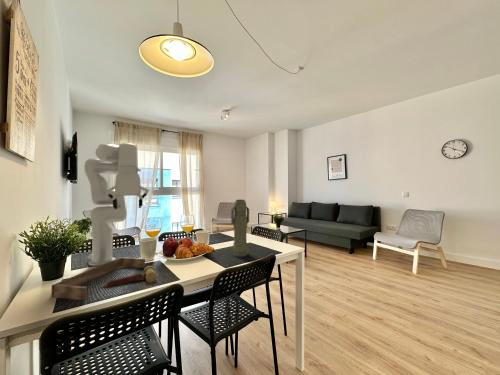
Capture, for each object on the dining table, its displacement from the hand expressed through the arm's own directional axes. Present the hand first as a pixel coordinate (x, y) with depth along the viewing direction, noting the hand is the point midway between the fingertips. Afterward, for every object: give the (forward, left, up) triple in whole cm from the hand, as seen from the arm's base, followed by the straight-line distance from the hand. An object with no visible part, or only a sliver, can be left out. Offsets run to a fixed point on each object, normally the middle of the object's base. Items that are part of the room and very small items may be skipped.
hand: (128, 208), depth 99 cm
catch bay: (-10, -1, -33) cm, 34 cm away
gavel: (+2, -1, -34) cm, 34 cm away
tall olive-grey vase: (+42, +47, -33) cm, 71 cm away
